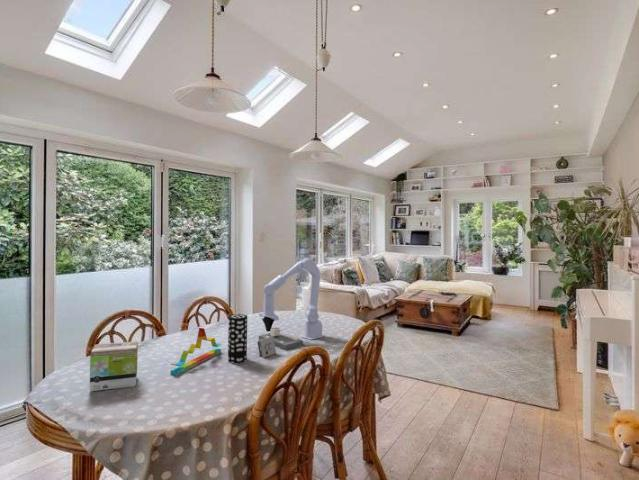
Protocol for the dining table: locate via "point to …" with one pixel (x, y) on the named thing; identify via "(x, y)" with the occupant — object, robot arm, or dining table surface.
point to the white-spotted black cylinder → (237, 338)
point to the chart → (199, 359)
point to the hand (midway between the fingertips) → (268, 331)
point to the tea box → (113, 365)
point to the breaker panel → (284, 341)
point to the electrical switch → (266, 347)
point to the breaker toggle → (275, 331)
